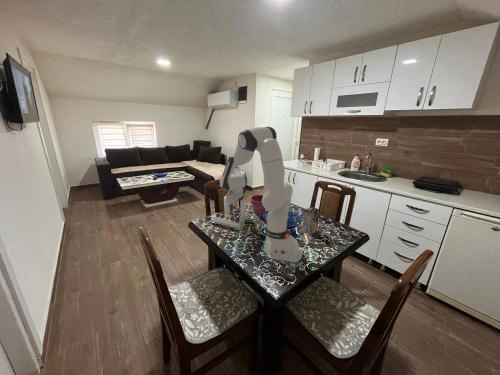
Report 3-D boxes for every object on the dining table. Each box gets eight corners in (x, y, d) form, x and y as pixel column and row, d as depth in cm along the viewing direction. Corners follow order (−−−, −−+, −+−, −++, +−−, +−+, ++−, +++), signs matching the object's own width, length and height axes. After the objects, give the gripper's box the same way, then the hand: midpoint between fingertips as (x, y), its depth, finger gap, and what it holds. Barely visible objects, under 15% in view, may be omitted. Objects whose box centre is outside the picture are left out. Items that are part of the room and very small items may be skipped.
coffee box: (309, 227, 148) (311, 206, 143) (317, 230, 143) (319, 209, 138) (301, 231, 142) (303, 209, 137) (309, 235, 137) (312, 213, 132)
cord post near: (247, 219, 159) (247, 199, 154) (244, 221, 155) (244, 201, 150) (242, 217, 160) (241, 198, 155) (239, 220, 157) (239, 200, 152)
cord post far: (231, 215, 164) (230, 196, 159) (228, 217, 161) (227, 198, 155) (226, 214, 166) (225, 195, 161) (223, 216, 162) (222, 197, 157)
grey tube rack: (245, 225, 149) (245, 217, 147) (240, 230, 143) (240, 221, 140) (216, 218, 160) (215, 210, 157) (210, 222, 153) (209, 214, 151)
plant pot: (256, 217, 161) (256, 202, 157) (247, 211, 172) (247, 196, 168) (271, 214, 167) (272, 199, 163) (262, 207, 179) (262, 193, 175)
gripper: (231, 193, 143) (231, 212, 147) (244, 185, 160) (244, 202, 165) (223, 192, 145) (223, 210, 150) (237, 184, 163) (237, 200, 167)
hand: (234, 205), depth 157 cm, fingers closed
